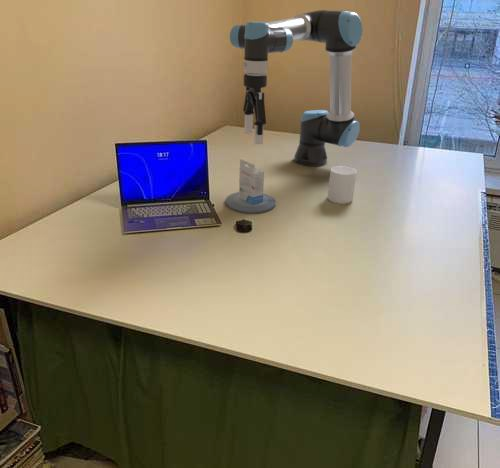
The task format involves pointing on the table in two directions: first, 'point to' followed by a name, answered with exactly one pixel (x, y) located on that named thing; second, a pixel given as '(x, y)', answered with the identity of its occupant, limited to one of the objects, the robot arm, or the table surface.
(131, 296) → the table surface
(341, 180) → the mug
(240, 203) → the dish
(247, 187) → the ink box
